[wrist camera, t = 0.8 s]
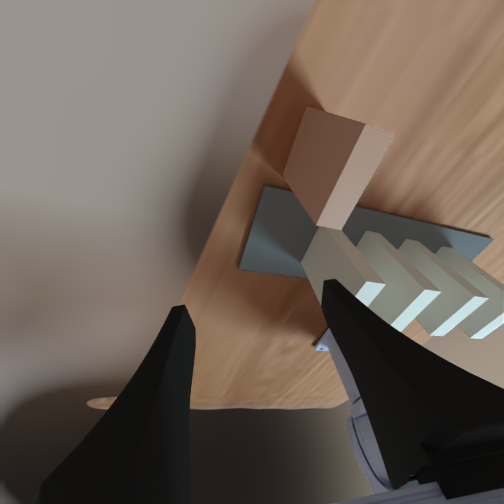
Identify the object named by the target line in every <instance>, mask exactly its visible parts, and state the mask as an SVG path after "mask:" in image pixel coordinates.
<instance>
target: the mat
mask: <svg viewBox="0 0 504 504" xmlns="http://www.w3.org/2000/svg"><path fill="white" fill-rule="evenodd" d="M318 228H319V226H317V225H315V223H314V222H313V220H312V219H311V217H310V216H309V214H308V213H307V212H306V210H305V209H304V207H303V206H302V204H301V203H300V201H299V200H298V198H297V197H296V196H295V194H294V193H293V191H291V190H286V189H282V188H278V187H274V186H269V185H265V184H264V187H263V190H262V193H261V197H260V200H259V203H258V206H257V209H256V212H255V216H254V219H253V222H252V225H251V228H250V231H249V235H248V238H247V241H246V244H245V247H244V250H243V254H242V257H241V260H240V263H239V266H238V269H239V270H245V271H253V272H261V273H268V274H276V275H284V276H291V277H299V278H307V279H308V277H307V275H306V273H305V271H304V268H303V266H302V264H301V261H302V259H303V257H304V256H305V254H306V252H307V250H308V248H309V246H310V244H311V242H312V240H313V238H314V236H315V234H316V232H317V230H318ZM342 231H343V233H344V234H345V235H346V236H347V237H348V239H349V240H350V241H351V242H352V244H353V245H354V246H355V247H356V246H357V244H358V243H359V241H360V240H361V238H362V237H363V235H364V234H365V232H366V231H371V232H376V233H380V234H381V235H382V236H383V237H384V238H385V239H386V240H387V241H388V242H390V243H391V244H392V245H393V246H394V247H395V248H396V249H397V250H398V249H399V248H400V246H401V245H402V244H403V242H404V241H405V240H406V239H410V240H415V241H419V242H420V243H421V244H422V245H424V246H425V247H426V248H427V249H429V250H430V251H431V252H432V253H434V254H435V253H436V252H437V251H438V250H439V249H440V248H441V247H442V246H444V247H449V248H453V249H455V250H456V251H457V252H459V253H460V254H462V255H463V256H464V257H466V258H467V259H469V260H470V261H472V260H473V259H474V258H475V257H476V256H477V255H478V254H480V253H481V252H482V251H483V250H484V249H485V248H486V247H487V246H488V245H489V244H490V243H491V242H492V241H493V240H494V239H492V238H490V237H486V236H482V235H478V234H473V233H469V232H465V231H461V230H456V229H452V228H448V227H444V226H439V225H435V224H431V223H427V222H422V221H418V220H414V219H410V218H405V217H401V216H397V215H393V214H388V213H384V212H380V211H376V210H371V209H367V208H363V207H359V206H355V207H354V209H353V211H352V212H351V214H350V216H349V218H348V219H347V221H346V223H345V225H344V226H343V228H342Z"/></svg>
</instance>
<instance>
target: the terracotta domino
mask: <svg viewBox="0 0 504 504" xmlns="http://www.w3.org/2000/svg"><path fill="white" fill-rule="evenodd" d="M395 135H396V134H393V133H391V132H388V131H385V130H382V129H379V128H376V127H373V126H371V125H368V124H365V123H361V122H358V121H355V120H352V119H348V118H345V117H342V116H338V115H335V114H332V113H329V112H325V111H322V110H319V109H315V108H312V107H309V106H306V108H305V111H304V114H303V117H302V120H301V123H300V126H299V128H298V131H297V134H296V137H295V140H294V143H293V145H292V148H291V151H290V154H289V157H288V160H287V163H286V165H285V168H284V171H283V174H282V177H283V178H284V180H285V181H286V182H287V184H288V185H289V187H290V188H291V190H292V191H293V193H294V194H295V196H296V197H297V198H298V200H299V201H300V203H301V204H302V206H303V207H304V209H305V210H306V212H307V213H308V214H309V216H310V217H311V219H312V220H313V222H314V223H315V225H317V226H322V227H327V228H332V229H337V230H342V228H343V226H344V225H345V223H346V221H347V219H348V218H349V216H350V214H351V212H352V211H353V209H354V207H355V205H356V204H357V202H358V200H359V198H360V197H361V195H362V193H363V191H364V190H365V188H366V186H367V184H368V183H369V181H370V179H371V177H372V176H373V174H374V172H375V170H376V169H377V167H378V165H379V163H380V162H381V160H382V158H383V156H384V155H385V153H386V151H387V149H388V148H389V146H390V144H391V142H392V141H393V139H394V137H395Z"/></svg>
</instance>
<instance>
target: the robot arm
mask: <svg viewBox="0 0 504 504" xmlns="http://www.w3.org/2000/svg"><path fill="white" fill-rule="evenodd" d="M321 308H322V311H323V314H324V316H325V319H326V322H327V324H328V326H329V328H328V329H327V331H326V332H325V333H324V335H323V336H322V337H321V339H320V340H319V341H318V343H317V344H316V346H315V350H317V351H329V352H330V354H331V356H332V359H333V361H334V364H335V366H336V368H337V371H338V373H339V376H340V378H341V380H342V383H343V385H344V388H345V390H346V392H347V395H348V397H349V399H350V402H351V404H352V405H350V406H348V408H349V411H350V413H351V415H349V416H348V418H347V424H346V430H347V435H348V439H349V442H350V445H351V448H352V450H353V453H354V455H355V458H356V460H357V462H358V464H359V466H360V468H361V470H362V471H363V473H364V475H365V476H366V477H367V479H368V481H369V483H370V485H371V487H372V490H373V492H374V495H369V496H364V497H359V498H355V499H349V500H345V501H340V502H335V503H331V504H504V389H503V388H501V387H498V386H496V385H494V384H492V383H490V382H488V381H486V380H484V379H482V378H480V377H478V376H475V375H473V374H471V373H469V372H467V371H466V370H464V369H462V368H460V367H458V366H456V365H454V364H452V363H450V362H448V361H447V360H445V359H443V358H441V357H440V356H438V355H436V354H435V353H433V352H431V351H429V350H428V349H426V348H424V347H422V346H421V345H419V344H418V343H416V342H415V341H413V340H411V339H410V338H408V337H407V336H405V335H404V334H402V333H401V332H400V331H398V330H397V329H395V328H394V327H393V326H391V325H390V324H388V323H387V322H386V321H384V320H383V319H382V318H381V317H379V316H378V315H377V314H375V313H374V312H373V311H372V310H371V309H369V308H368V307H367V306H366V305H365V304H363V303H362V302H361V301H360V300H359V299H358V298H356V297H355V296H354V295H353V294H352V293H351V292H350V291H349V290H348V289H346V288H345V287H344V286H343V285H342V284H341V283H340V282H339V281H338V280H337V279H329V280H324V282H323V291H322V301H321ZM195 348H196V333H195V326H194V324H193V322H192V319H191V317H190V315H189V313H188V310H187V308H186V306H185V305H179V306H175V307H172V308H171V310H170V312H169V315H168V317H167V319H166V321H165V323H164V325H163V326H162V328H161V330H160V332H159V334H158V336H157V338H156V340H155V342H154V343H153V345H152V346H151V348H150V350H149V352H148V353H147V355H146V356H145V358H144V360H143V361H142V363H141V365H140V366H139V368H138V369H137V371H136V372H135V374H134V375H133V377H132V378H131V380H130V381H129V383H128V384H127V385H126V387H125V388H124V389H123V391H122V392H121V394H120V395H119V396H118V397H117V399H116V400H115V401H114V403H113V404H112V405H111V406H110V408H109V409H108V410H107V412H106V413H105V414H104V415H103V417H102V418H101V419H100V420H99V421H98V422H97V423H96V425H95V426H94V427H93V428H92V430H90V432H89V433H88V434H87V435H86V436H85V437H84V439H83V440H82V441H81V442H80V443H79V444H78V445H77V447H76V448H75V449H74V450H73V451H72V452H71V453H70V454H69V455H68V456H67V457H66V458H65V459H64V460H63V461H62V462H61V463H60V465H59V466H58V467H57V468H56V469H55V470H54V471H53V472H52V473H51V474H50V475H49V476H48V477H47V478H46V479H45V480H44V481H43V482H42V484H41V486H40V488H39V490H38V492H37V494H36V497H35V499H34V501H33V503H32V504H190V484H189V410H190V393H191V384H192V376H193V367H194V358H195Z"/></svg>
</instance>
